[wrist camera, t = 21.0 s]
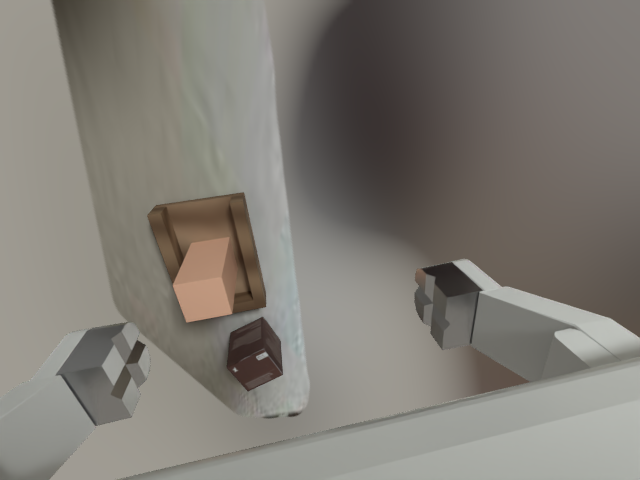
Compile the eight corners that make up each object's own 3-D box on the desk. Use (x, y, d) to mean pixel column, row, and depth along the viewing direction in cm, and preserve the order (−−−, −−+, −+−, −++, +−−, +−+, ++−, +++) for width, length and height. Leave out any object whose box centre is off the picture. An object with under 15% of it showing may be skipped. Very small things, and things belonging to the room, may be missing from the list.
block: (191, 243, 42) (172, 285, 33) (229, 236, 42) (221, 276, 33) (201, 274, 44) (186, 322, 35) (237, 268, 44) (232, 313, 36)
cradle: (155, 205, 40) (147, 215, 37) (243, 192, 41) (242, 201, 38) (191, 306, 47) (187, 321, 44) (265, 292, 48) (266, 307, 45)
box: (248, 355, 53) (247, 392, 46) (229, 331, 50) (225, 367, 44) (281, 339, 53) (284, 375, 46) (263, 315, 50) (264, 349, 43)
